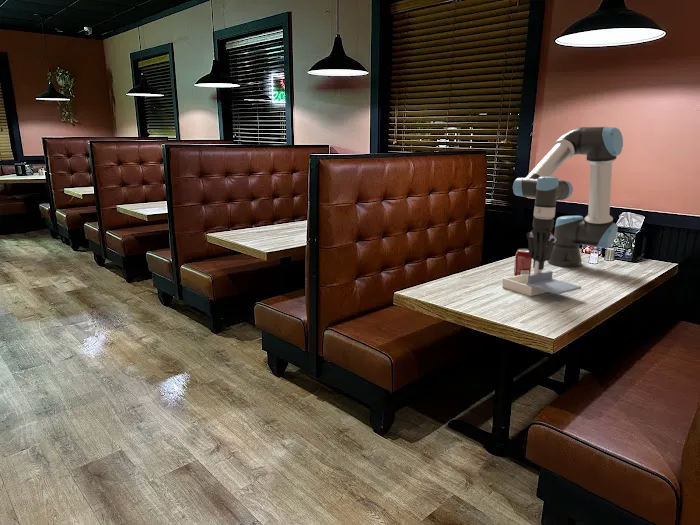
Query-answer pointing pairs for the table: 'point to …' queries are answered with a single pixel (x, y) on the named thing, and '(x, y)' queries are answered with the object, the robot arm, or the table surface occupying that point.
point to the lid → (550, 283)
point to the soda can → (522, 262)
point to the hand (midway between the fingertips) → (537, 276)
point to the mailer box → (521, 285)
